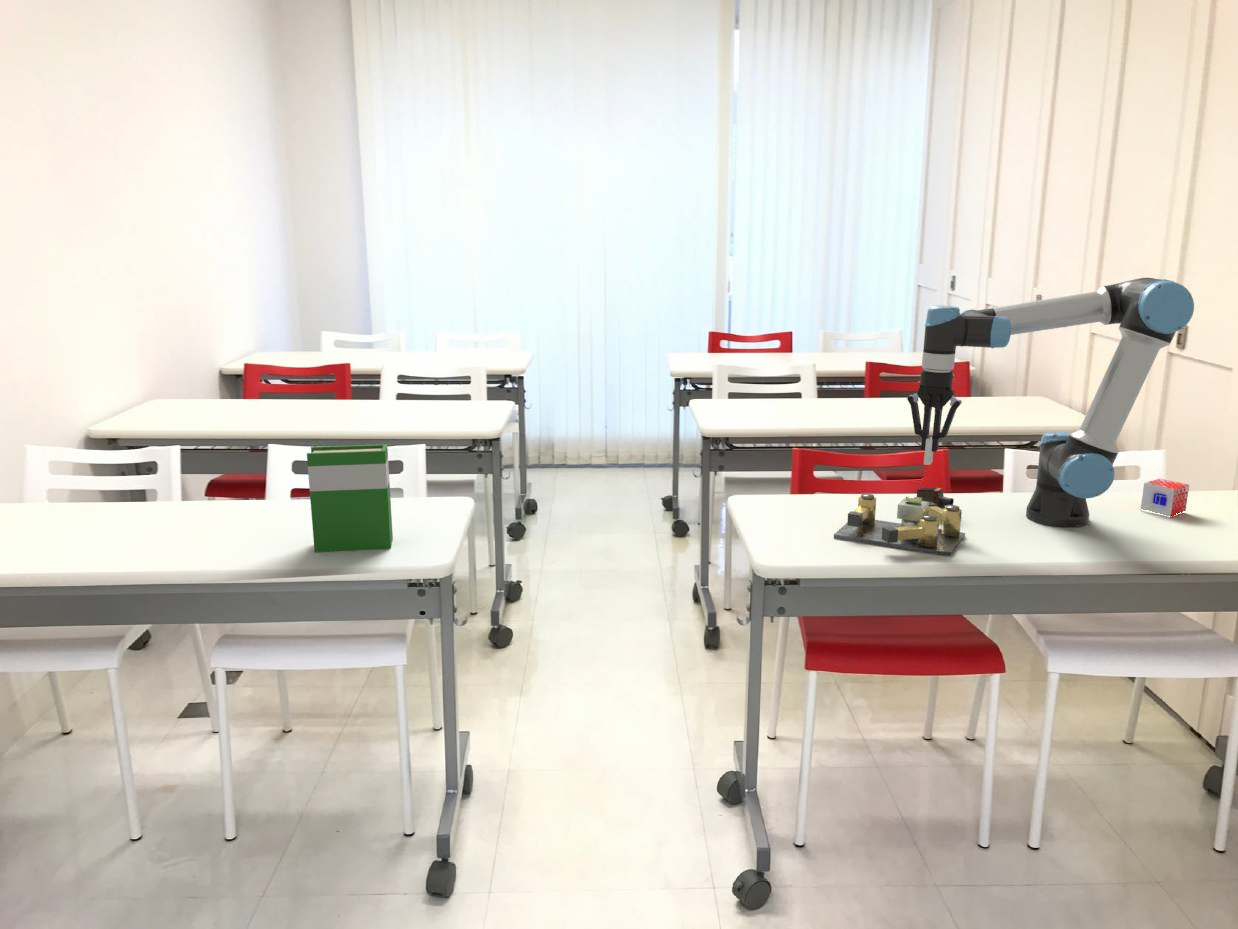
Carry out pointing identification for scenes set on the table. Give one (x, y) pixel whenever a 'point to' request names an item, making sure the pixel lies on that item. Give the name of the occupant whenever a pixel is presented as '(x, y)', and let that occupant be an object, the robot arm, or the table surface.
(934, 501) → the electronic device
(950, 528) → the knob
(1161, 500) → the red and white box
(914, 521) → the valve board
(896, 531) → the knob
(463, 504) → the table surface
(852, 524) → the knob
